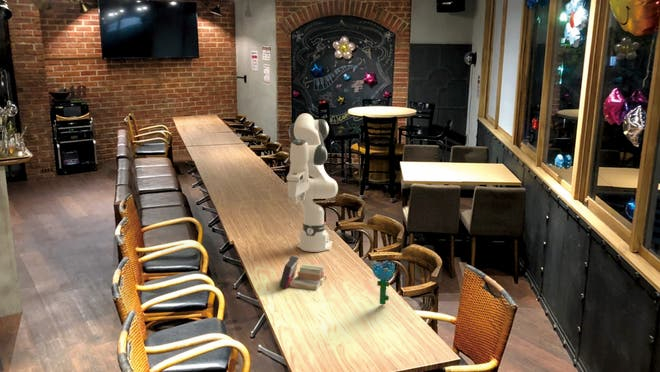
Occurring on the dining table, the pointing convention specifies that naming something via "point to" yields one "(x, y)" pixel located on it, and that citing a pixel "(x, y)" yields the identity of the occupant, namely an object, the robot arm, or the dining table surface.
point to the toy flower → (383, 278)
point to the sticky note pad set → (309, 277)
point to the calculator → (289, 272)
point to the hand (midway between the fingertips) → (299, 202)
